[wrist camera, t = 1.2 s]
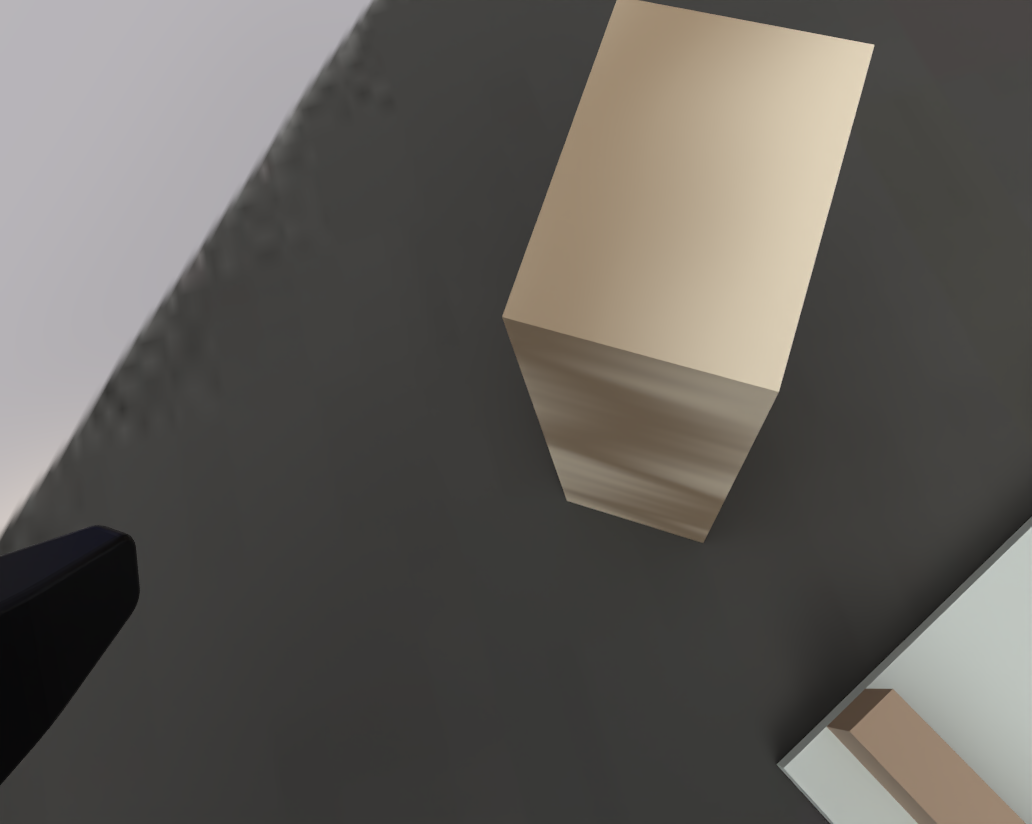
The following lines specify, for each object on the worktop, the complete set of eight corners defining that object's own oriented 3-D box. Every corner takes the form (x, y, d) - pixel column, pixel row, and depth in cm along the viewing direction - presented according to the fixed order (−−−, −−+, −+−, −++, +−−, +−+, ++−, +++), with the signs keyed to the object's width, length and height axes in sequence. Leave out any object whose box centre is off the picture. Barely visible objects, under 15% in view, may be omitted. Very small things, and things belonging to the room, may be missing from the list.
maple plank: (755, 357, 23) (874, 44, 12) (703, 543, 22) (779, 392, 11) (624, 323, 24) (617, -4, 13) (567, 500, 23) (502, 316, 11)
